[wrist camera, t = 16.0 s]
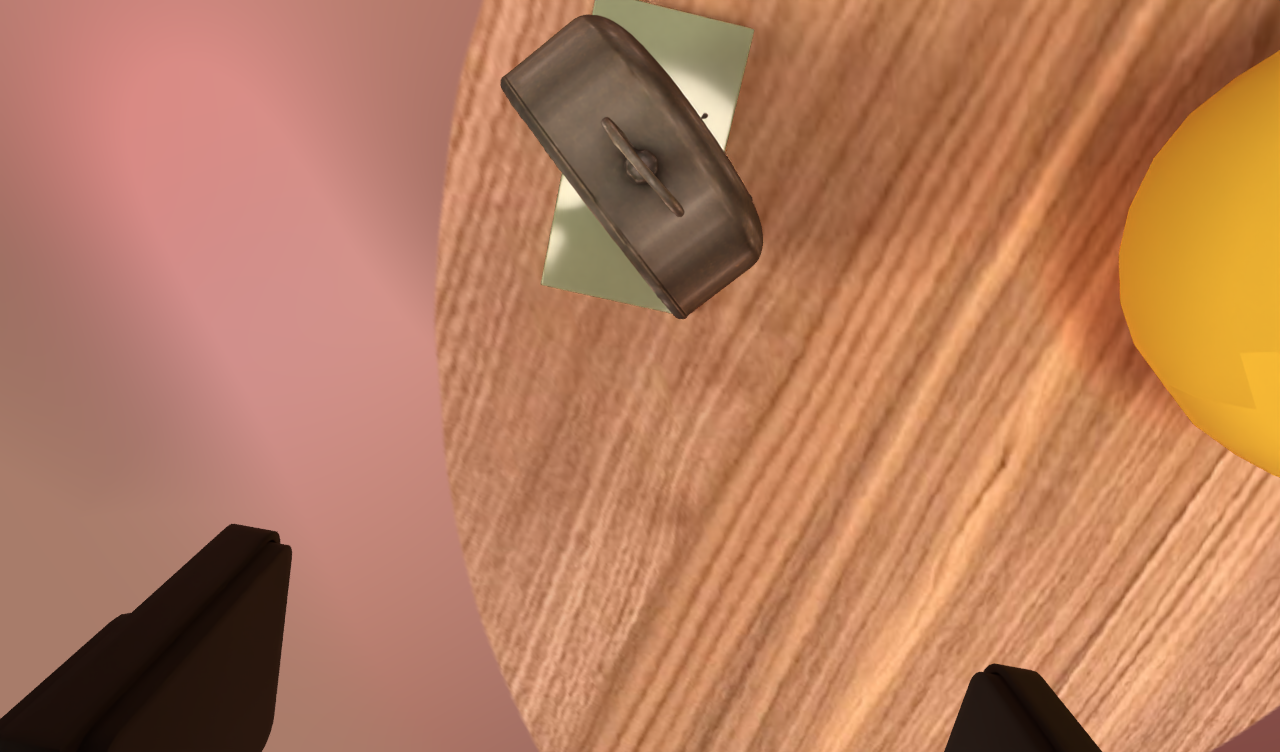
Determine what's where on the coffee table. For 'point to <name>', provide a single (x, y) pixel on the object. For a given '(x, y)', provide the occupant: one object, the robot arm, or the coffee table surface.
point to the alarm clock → (639, 159)
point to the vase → (1214, 266)
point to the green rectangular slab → (710, 80)
